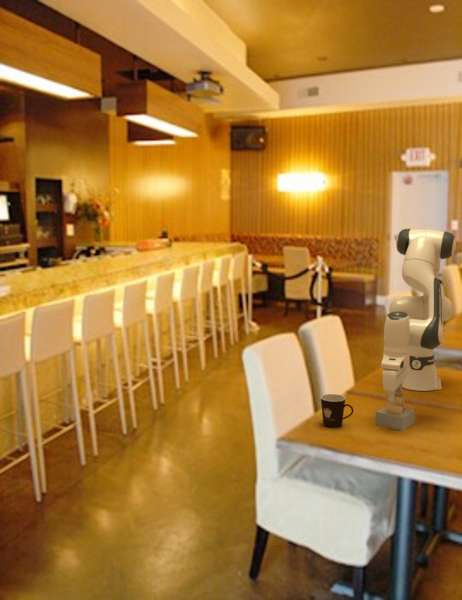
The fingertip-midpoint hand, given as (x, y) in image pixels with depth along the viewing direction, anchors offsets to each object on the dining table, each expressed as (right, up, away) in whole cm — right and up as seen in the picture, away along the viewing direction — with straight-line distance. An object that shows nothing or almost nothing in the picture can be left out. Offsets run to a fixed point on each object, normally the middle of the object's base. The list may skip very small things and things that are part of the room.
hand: (395, 397), depth 212 cm
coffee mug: (-21, -10, -1) cm, 24 cm away
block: (0, -10, +1) cm, 10 cm away
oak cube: (0, -5, 0) cm, 5 cm away
